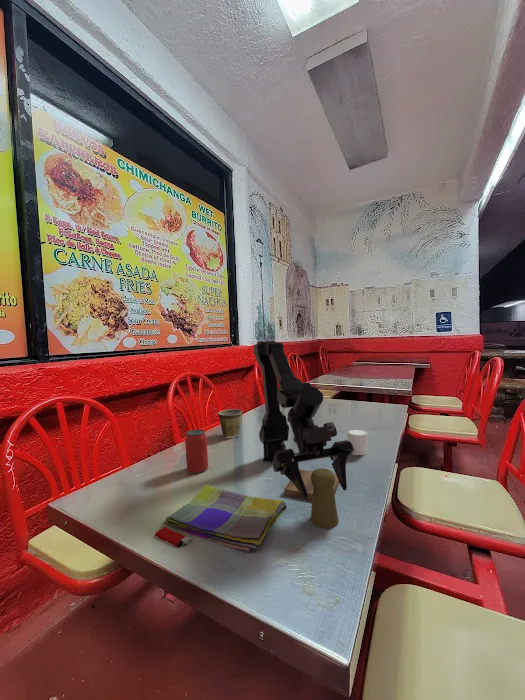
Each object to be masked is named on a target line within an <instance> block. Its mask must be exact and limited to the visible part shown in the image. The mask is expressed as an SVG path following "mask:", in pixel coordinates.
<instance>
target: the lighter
mask: <svg viewBox="0 0 525 700" xmlns="http://www.w3.org/2000/svg"><path fill="white" fill-rule="evenodd" d="M155 536H157V537H158V538H157V537H156V538H157V539H159V538H160V539H159V540H161V539H162V540H161V541H163V540H164V541H163V542H165V541H167V542H168V544H169V543H170V545H171V544H172V545H171V546H174V547H176V548H178V549H179V548H181V547H182V546H185V547H187V545H189V544H190V542H192V538H191V537H189V536H187V535H184V534H182V533H179V532H177V531H175V530H172V529H170V528H168V527H166V526H162V527H161V528H160V529H159V530H157V531H155V533H154V537H155ZM167 542H166V543H167Z"/></svg>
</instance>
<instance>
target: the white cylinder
mask: <svg viewBox="0 0 525 700" xmlns="http://www.w3.org/2000/svg"><path fill="white" fill-rule="evenodd" d="M346 435H347V440H348V441H350V442H351V443H352V445H353V447H354V449H355V450H354V451H353V453H352V454H351V455H353V456H357V455H362V456H365V454H366V453H367V452H368V443H369V442H368V439H369V438H368V437H369V433H368V431H366V430H363V429H358V428H357V429H349V430H347V431H346ZM366 455H367V454H366Z"/></svg>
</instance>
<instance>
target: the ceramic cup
mask: <svg viewBox="0 0 525 700" xmlns="http://www.w3.org/2000/svg"><path fill="white" fill-rule="evenodd" d="M217 415H218V421H219V424H220V428H221V432H222V433H221V434H222V436H223V437H224V438H225V437H235V438H238V437H239V435H240V430H241V429H240V428H241V423H242V417H243V410H241V409H236V408H230V409H224V410H220V411H219V412H217ZM237 436H238V437H237Z"/></svg>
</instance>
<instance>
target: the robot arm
mask: <svg viewBox="0 0 525 700" xmlns="http://www.w3.org/2000/svg"><path fill="white" fill-rule="evenodd" d="M284 350H285V348H284V344H283V342H280V341H275V340H261V341H257V342H256V344H254V345H253V351H252V352H253V355H254V356H255V361H256V363H257V364H258V365H259V366H260V368H261V375H262V385H263V394H264V395H263V396H264V403H265V406H264V407H265V412H264V415H263V417H262V419H261V423H262V424H261V426H260V430H259V433H258V436H259V441H260V442H261V443H262V445H263V458H261V461H262V462H267V463H272V469H273V472H275V473H278V472H279V473H280V475H283V476H284V477H285V476H286V478H287V479H289V482H290V481H291V482H292V483H293V484H294V485H295V486H296V488H297V489H298V490H299V491H300V493H301V494H302V495H303V497H304V498H303V499H306V498H307V497H308V495H307V491H306V488H305V485H304V482H303V480H302V477H301V474H300V471H299V469H300V468H299V463H301V462H306V461H307V462H308V461H313V460H318V459H325V458H330V460H331V461H332V463H331V466H332V468H333V471H334V473H335V475H336V476H337V478H338V480H339V485H340V487H341V489H342V490H343V491H345V492H346V490H347V489H348V485H347V483H348V482H347V469H346V468H347V460H348V459H349V458H350V457H351V455H353V454H352V453H353V451H354V450H355V449H354V447H353V445H352V443H351V442H350V441H348V439H346V440H345V439H344V440H339V441H334V442H333V444H332V445H331V446H330V447H329V448H324V447H326V446H327V445H328V443H327V442H332V438H334V437H337V435H338V431H337V428H336V426H335V424H334V422H333V421H330V422H325V423H323V426H318V424H315V421H314V419H313V418H314V417H315V416H316V414H317V412H318V411H319V409H320V407H321V405H322V404H323V401H324V395H323V392H322V391H321V390H319V388H317V387H315V386H313V385H311V383H310V382H302V380H301V379H299V378H298V377H296V376H295V375H294V372H293V370H292V368H291V366H290V363H289V361H288V358H287V356H286V354H285V351H284ZM280 406H281V407H280ZM281 408H283V409H288V408H290V409H289V410H288V413H287V417H286V415H285V414H284V413H283V412H282V411H281ZM288 423H289V424H290V426H289V424H288ZM290 427H291V430H292V433H293V439H292V440H293V443H294V444H295V443H296V446H297V449H298V452H297V453H296V452H294V450H293V449H292V448H287V445H286V444H285V442H288V441H289V433H290ZM286 448H287V449H286Z"/></svg>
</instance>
